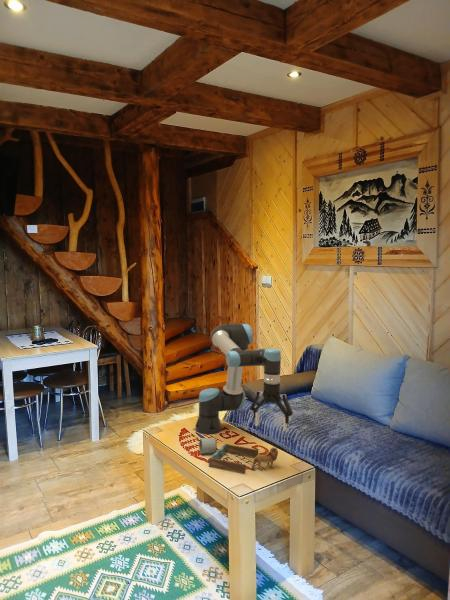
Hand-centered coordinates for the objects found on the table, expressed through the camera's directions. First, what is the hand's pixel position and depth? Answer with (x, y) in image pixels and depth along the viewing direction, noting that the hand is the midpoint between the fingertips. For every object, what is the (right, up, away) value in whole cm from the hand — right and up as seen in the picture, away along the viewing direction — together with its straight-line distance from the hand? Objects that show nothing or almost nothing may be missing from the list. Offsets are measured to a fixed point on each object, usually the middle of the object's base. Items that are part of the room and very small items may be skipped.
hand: (270, 427), depth 217 cm
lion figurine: (-2, -21, +6) cm, 22 cm away
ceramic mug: (-31, -19, +24) cm, 43 cm away
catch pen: (-17, -20, +12) cm, 29 cm away
